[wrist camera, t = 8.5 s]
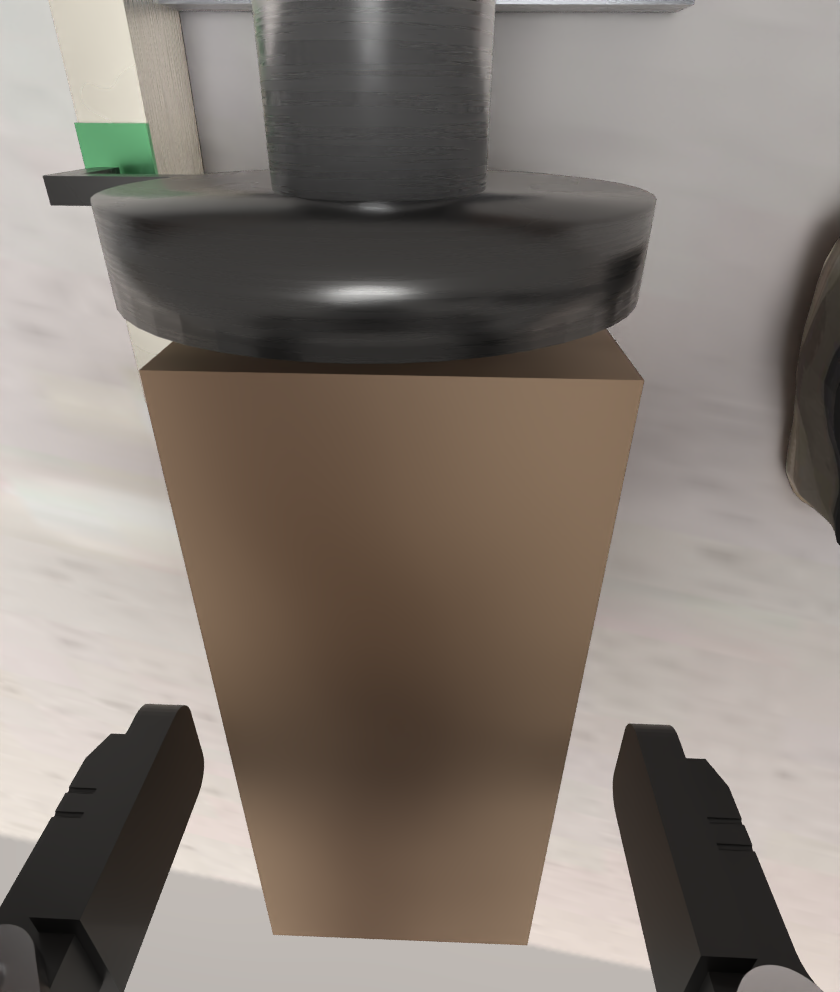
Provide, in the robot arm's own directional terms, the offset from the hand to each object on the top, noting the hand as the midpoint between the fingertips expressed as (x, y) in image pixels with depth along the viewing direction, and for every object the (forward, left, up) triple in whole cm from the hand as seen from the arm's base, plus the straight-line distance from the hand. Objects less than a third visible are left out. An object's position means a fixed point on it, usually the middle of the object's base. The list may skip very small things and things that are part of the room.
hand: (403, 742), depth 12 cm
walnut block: (0, 0, -8) cm, 8 cm away
